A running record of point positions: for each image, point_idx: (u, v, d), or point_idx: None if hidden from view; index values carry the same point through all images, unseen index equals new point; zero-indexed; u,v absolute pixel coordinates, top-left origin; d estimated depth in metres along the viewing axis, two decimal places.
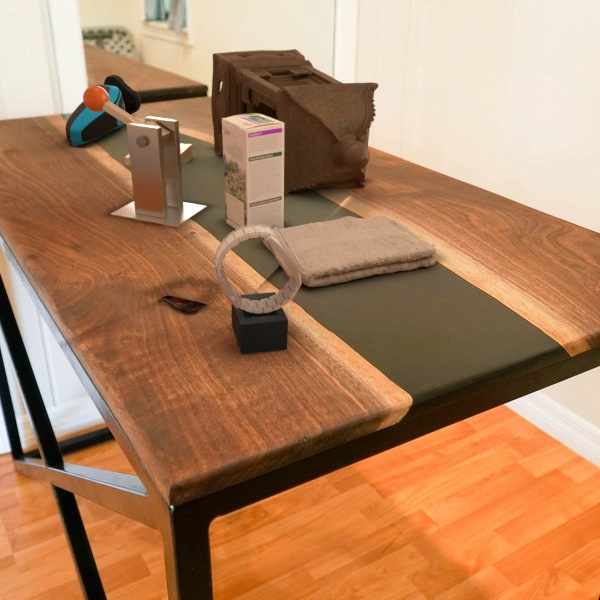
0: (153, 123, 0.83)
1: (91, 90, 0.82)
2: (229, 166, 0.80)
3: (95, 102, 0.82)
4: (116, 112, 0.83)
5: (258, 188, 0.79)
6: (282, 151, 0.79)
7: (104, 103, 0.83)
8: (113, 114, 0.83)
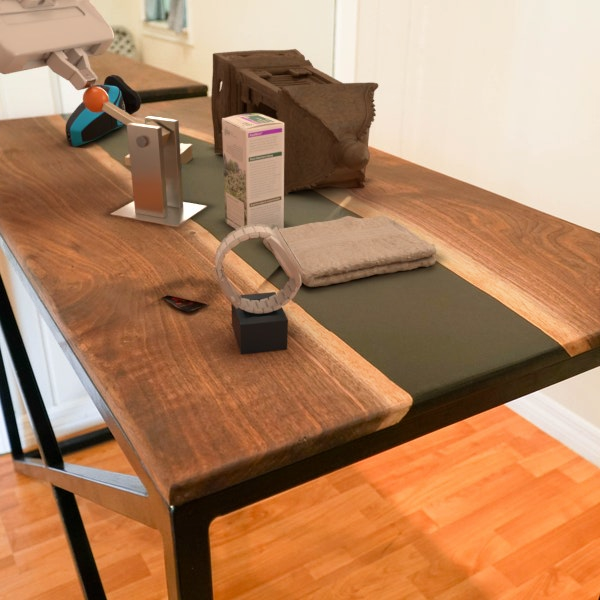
0: (153, 123, 0.83)
1: (91, 91, 0.82)
2: (229, 166, 0.80)
3: (95, 103, 0.82)
4: (116, 113, 0.83)
5: (258, 188, 0.79)
6: (282, 151, 0.79)
7: (104, 104, 0.83)
8: (113, 115, 0.83)
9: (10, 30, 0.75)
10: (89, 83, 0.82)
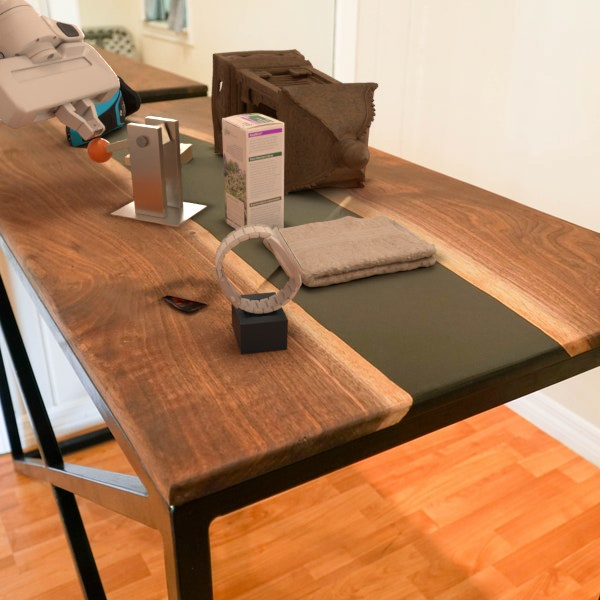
0: None
1: (89, 144, 0.86)
2: (229, 166, 0.80)
3: (97, 149, 0.85)
4: (117, 144, 0.85)
5: (258, 188, 0.79)
6: (282, 151, 0.79)
7: (105, 146, 0.85)
8: (116, 148, 0.85)
9: (21, 87, 0.78)
10: (96, 133, 0.85)
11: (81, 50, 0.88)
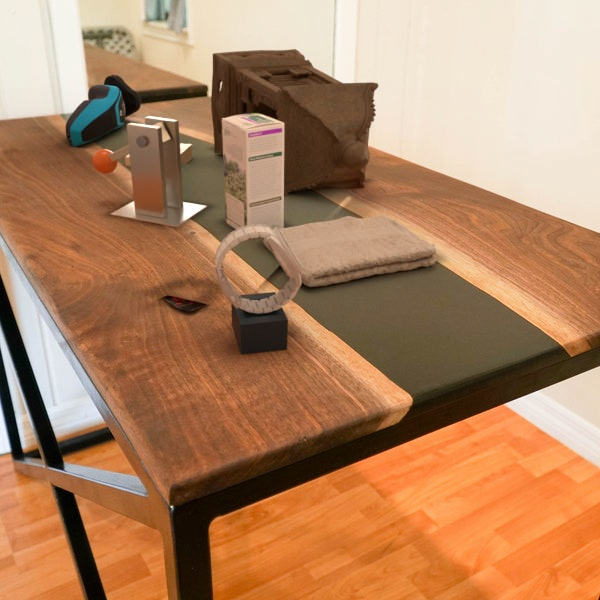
0: None
1: (94, 156, 0.86)
2: (229, 166, 0.80)
3: (102, 159, 0.86)
4: (119, 151, 0.85)
5: (258, 188, 0.79)
6: (282, 151, 0.79)
7: (109, 156, 0.86)
8: (120, 155, 0.85)
9: None
10: None
11: None
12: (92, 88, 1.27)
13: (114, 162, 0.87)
